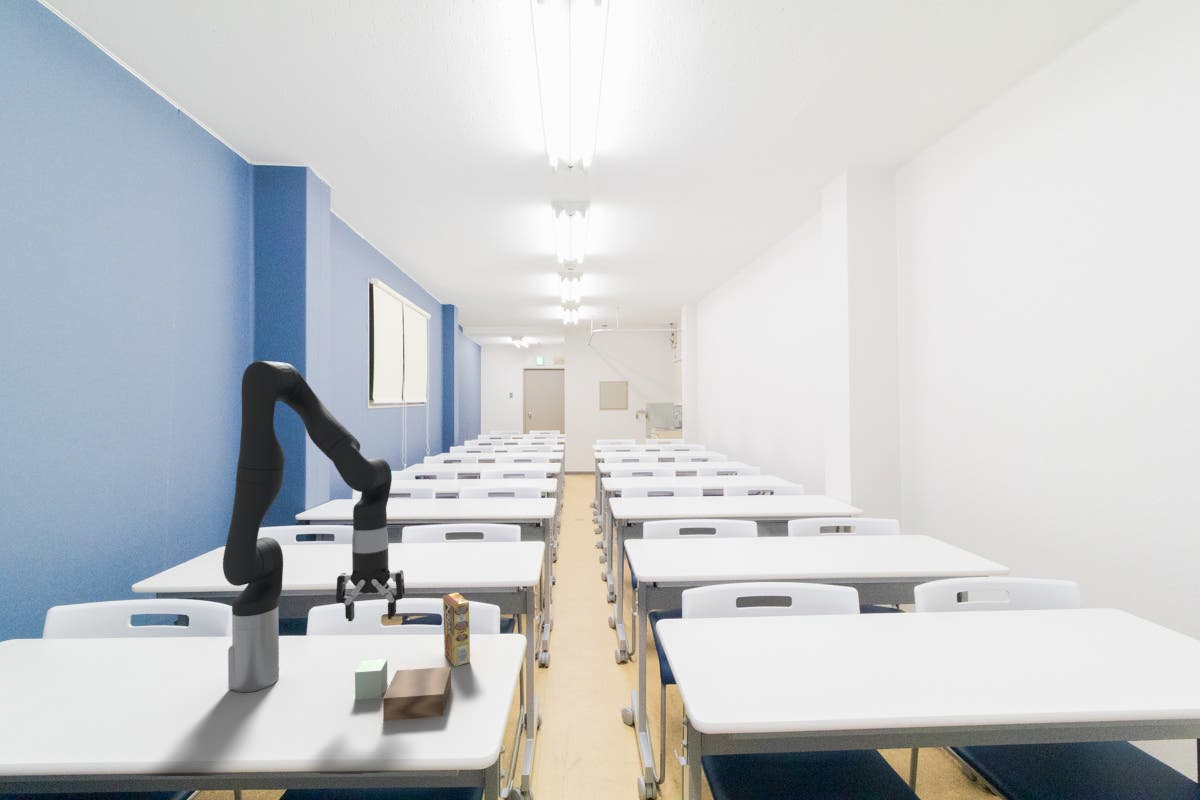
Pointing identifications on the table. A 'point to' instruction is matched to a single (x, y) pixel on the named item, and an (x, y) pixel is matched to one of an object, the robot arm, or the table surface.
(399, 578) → the robot arm
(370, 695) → the sage cube
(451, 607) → the candy box
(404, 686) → the walnut block
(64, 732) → the table surface
